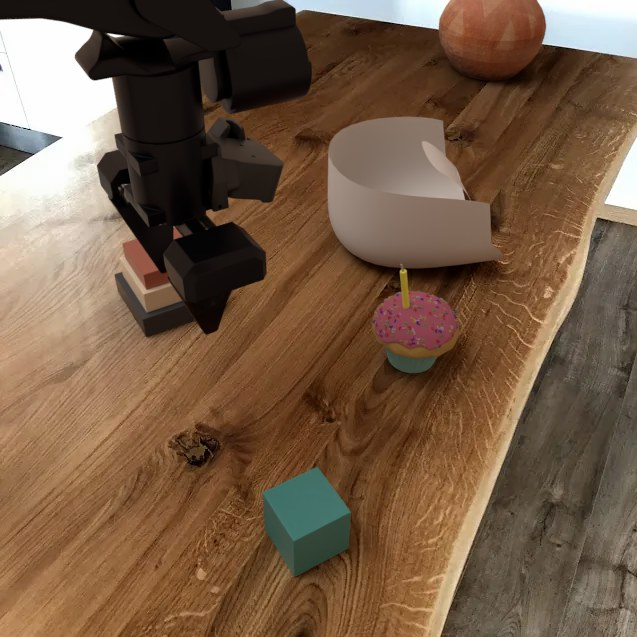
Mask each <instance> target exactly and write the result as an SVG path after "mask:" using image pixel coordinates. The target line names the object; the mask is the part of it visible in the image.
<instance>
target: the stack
mask: <svg viewBox="0 0 637 637" xmlns="http://www.w3.org/2000/svg"><path fill="white" fill-rule="evenodd" d="M180 237H182V235H181V234H180V233H179V232H178V230H177V229H176V228H175V227H174V239H177V238H180ZM121 244H122V245H121V246H122V250H123V254H124V255H123V256H119V263H120V268H121V271H120V272H117V273H114V279H115V283H116V284H115V285H116V288H117V293H118V294H119V296H120V297H121V299H122V300H123V302H124V304H125V305H126V307H127V309H128V310H129V312H130V314H131V315H132V317H133V318H134V320H135V322H136V323H137V325H138V327H139V328H140V330H141V331H142V333H143V335H144V337H146V338H147V337H151V336H153V335H156V334H159V333H162V332H164V331H167V330H170V329H173V328H176V327H178V326H181V325H185V324H187V323H190V322H194V321H195V319H194V318H193V316H192V315H191V313H190V312H189V310H188V309H187V307H186V306H185V304H184V303H183V301H182V300H181V298H180V297H179V296H178V294H177V293H176V291H175V290H174V288H173V287H172V285H171V284H170V282H169V281H168V279H167V277H169V275H168V272H167V273H164V274H162V273H160V272H159V270H158V269H157V267H156V266H155V264H154V263H153V261H152V260H151V259H150V257H149V256H148V254H147V253H146V251H145V250H144V249H143V247H142V246H141V244H140V243H139V241H138V240H137V239H136V238H135V239H132V240H129V241H125V242H122V243H121Z"/></svg>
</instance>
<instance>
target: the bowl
mask: <svg viewBox="0 0 637 637" xmlns="http://www.w3.org/2000/svg"><path fill="white" fill-rule="evenodd" d="M445 141H446V140H445V128H444V120H442V119H438V118H432V117H424V116H391V117H380V118H374V119H373V118H372V119H368V120H364V121H359V122H356V123H353V124H351V125H350V124H349V125H348V126H346V127H344V128H342V129H340V130H339V131H338V132H337V133H336V134H334V136H333V137H332V138H331V140H330V142H329V145H328V151H327V152H328V153H327V155H328V156H327V158H328V159H327V208H328V216H329V222H330V225H331V227H332V229H333V233H334V234H335V237H336V239H338V240H339V242H340V243H341V245H342V246H343V247H344V248H345V249H346V250H347V251H349V252H350V253H351V254H352V255H354V256H355V257H357V258H359V259H361V260H362V261H365V262H368V263H371V264H373V265H377V266H382V267H386V268H396V269H401V265H400V264H402V265H403V269H430V268H432V269H433V268H441V267H453V266H460V265H468V264H475V263H483V262H489V261H490V262H491V261H492V262H493V261H498V260H503V259H504V254H503V252H502V251H501V250H500V249H499V248H497V247H496V246H494V245H492V224H491V223H492V222H491V221H492V220H491V203H489V202H484V201H477V200H472V199H471V198H470V195H469V193H468V192H467V190H466V188H465V186H464V185H463V183H462V179H461V175H460V173H459V170H458V168H457V167H456V165H455V164H454V163H453V162H452V161H451V160H450V159H449V158H448V157H447V155H446V154H447V153H446V142H445ZM464 192H465V194H466V195H467V197H468V198H469V200H467V199H466V197H465V194H464Z"/></svg>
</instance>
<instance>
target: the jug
mask: <svg viewBox="0 0 637 637" xmlns="http://www.w3.org/2000/svg"><path fill="white" fill-rule="evenodd" d="M546 21H547V20H546V15H545V13H544V10H543V7H542V6H541V5H540V2H539V1H538V0H449V1H448V3H447V4H446V6H445V7H444V9H443V10H442V13H441V15H440V16H439V19H438V35H439V36H438V37H439V42H440V45H441V48H442V50H443V52H444V53H445V55H446V57H447V59H448V60H449V62H450V63H451V65H452V66H453V68H454V69H455V70H456V71H457V72H458V73H459V74H461V75H463V76H466V77H467V78H470V79H474V80H478V81H479V80H480V81H484V82H485V81H487V82H488V81H489V82H490V81H491V82H496V81H497V82H498V81H505V80H509V79H511V78H514V77H515V76H516V75H518V74H519V73H520V72H521V71H523V69H524V68H525V67H526V66H528V65H529V64H530V63H531V62H532V61H533V59H534V58H535V57H536V56H537V55H538V53H539V51H540V50H541V47H542V45H543V42H544V39H545V36H546V32H547V31H546V30H547V22H546Z"/></svg>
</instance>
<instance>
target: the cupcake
mask: <svg viewBox="0 0 637 637" xmlns="http://www.w3.org/2000/svg"><path fill="white" fill-rule="evenodd" d="M400 265H401V268H400V270H399V278H400V289H401V291H398V292H395V293H393V294H391V295H389V296H388V297H387V298H384V299H383V301H381V303H379V304H378V305H377V307H376V309H375V310H374V314H373V318H372V323H371V328H372V332H373V333H374V335H375V338H376V340H377V342H378V343H379V344H380V345H381V346H383V347H384V350H385V352H386V356H387V360H388V361H389V364H391V366H393V368H394V369H396V370H398V371H400V372H403V373H405V374H419V373H424V372H426V371H428V370H429V369H431V367H432V366H434V364H435V362H436V360H437V358H438V357H440V356H441V355H444V354H445V353H448V351H450V350H452V349H453V348H454V347H455V346H456V343H457V340H458V338H459V335H460V324H459V319H458V317H457V314H456V310H455V309H453V307H452V306H450V304H449V302H447V301H446V300H444V298H443V297H439V295H434V294H435V293H433V294H432V293H428V292H424V291H421V290H409V281H408V280H409V279H408V270H407V268H403V265H402V264H400Z"/></svg>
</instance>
